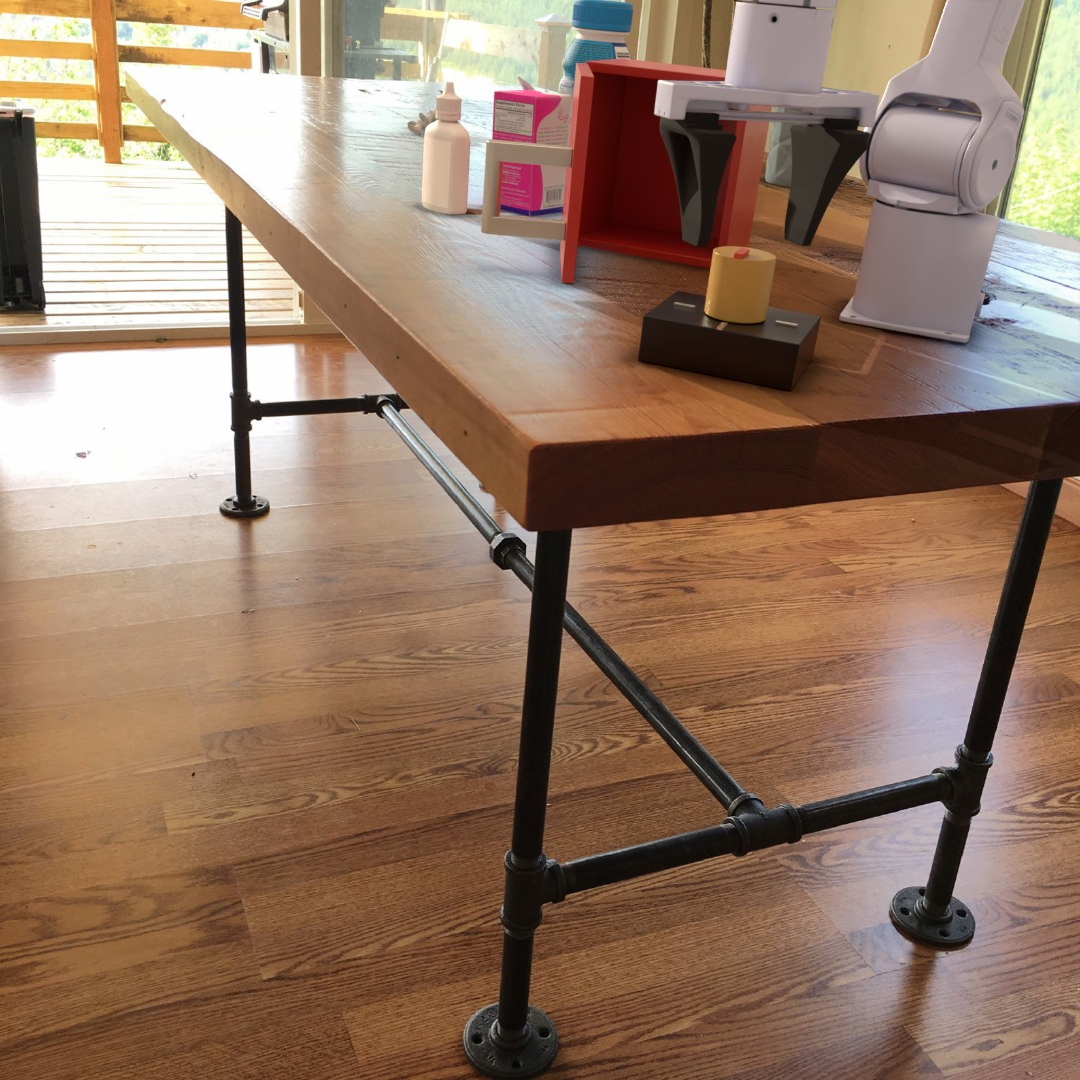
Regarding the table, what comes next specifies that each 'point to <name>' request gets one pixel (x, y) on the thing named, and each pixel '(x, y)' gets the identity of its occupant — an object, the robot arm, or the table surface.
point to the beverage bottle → (595, 37)
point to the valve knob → (739, 284)
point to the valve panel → (729, 342)
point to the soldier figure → (423, 121)
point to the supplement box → (532, 123)
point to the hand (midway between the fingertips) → (747, 243)
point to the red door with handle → (547, 156)
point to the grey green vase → (781, 150)
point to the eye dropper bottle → (446, 158)
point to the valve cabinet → (657, 168)
